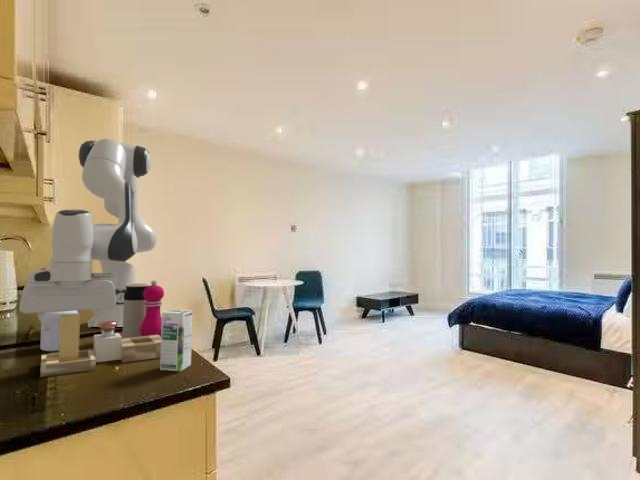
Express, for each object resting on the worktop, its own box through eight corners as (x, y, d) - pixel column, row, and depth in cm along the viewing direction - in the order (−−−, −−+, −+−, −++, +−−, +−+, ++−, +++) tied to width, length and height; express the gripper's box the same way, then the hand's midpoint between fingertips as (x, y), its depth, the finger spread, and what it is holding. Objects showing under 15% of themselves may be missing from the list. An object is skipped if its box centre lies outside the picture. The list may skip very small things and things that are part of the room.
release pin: (96, 355, 105) (98, 322, 105) (114, 353, 108) (116, 320, 108) (98, 359, 101) (99, 324, 102) (117, 357, 104) (118, 323, 104)
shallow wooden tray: (41, 364, 97) (41, 355, 97) (91, 358, 104) (91, 349, 104) (40, 377, 88) (40, 366, 88) (95, 369, 95) (95, 359, 95)
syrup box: (158, 370, 95) (160, 311, 95) (171, 363, 101) (173, 308, 101) (180, 372, 94) (182, 312, 95) (191, 365, 100) (193, 309, 100)
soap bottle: (46, 344, 117) (50, 264, 118) (81, 343, 120) (83, 264, 120) (34, 352, 108) (38, 265, 109) (72, 350, 111) (75, 265, 112)
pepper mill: (155, 347, 116) (157, 281, 117) (134, 346, 118) (136, 280, 118) (169, 342, 123) (171, 279, 124) (149, 340, 125) (151, 279, 125)
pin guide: (93, 357, 105) (94, 335, 105) (117, 354, 109) (118, 332, 109) (95, 362, 100) (96, 339, 100) (120, 359, 104) (121, 336, 104)
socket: (117, 352, 110) (117, 338, 110) (157, 347, 116) (158, 334, 116) (122, 362, 101) (123, 347, 101) (166, 356, 107) (167, 342, 107)
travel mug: (150, 340, 126) (152, 285, 126) (123, 342, 121) (125, 285, 122) (147, 335, 132) (148, 283, 133) (121, 337, 128) (123, 283, 129)
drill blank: (58, 362, 97) (60, 314, 97) (77, 359, 99) (79, 313, 99) (58, 366, 93) (60, 316, 94) (78, 363, 96) (80, 315, 96)
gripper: (116, 272, 105) (114, 322, 105) (21, 273, 93) (19, 330, 93) (119, 273, 100) (117, 326, 100) (20, 275, 88) (17, 335, 88)
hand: (69, 328), depth 96 cm, fingers open, 8 cm apart
